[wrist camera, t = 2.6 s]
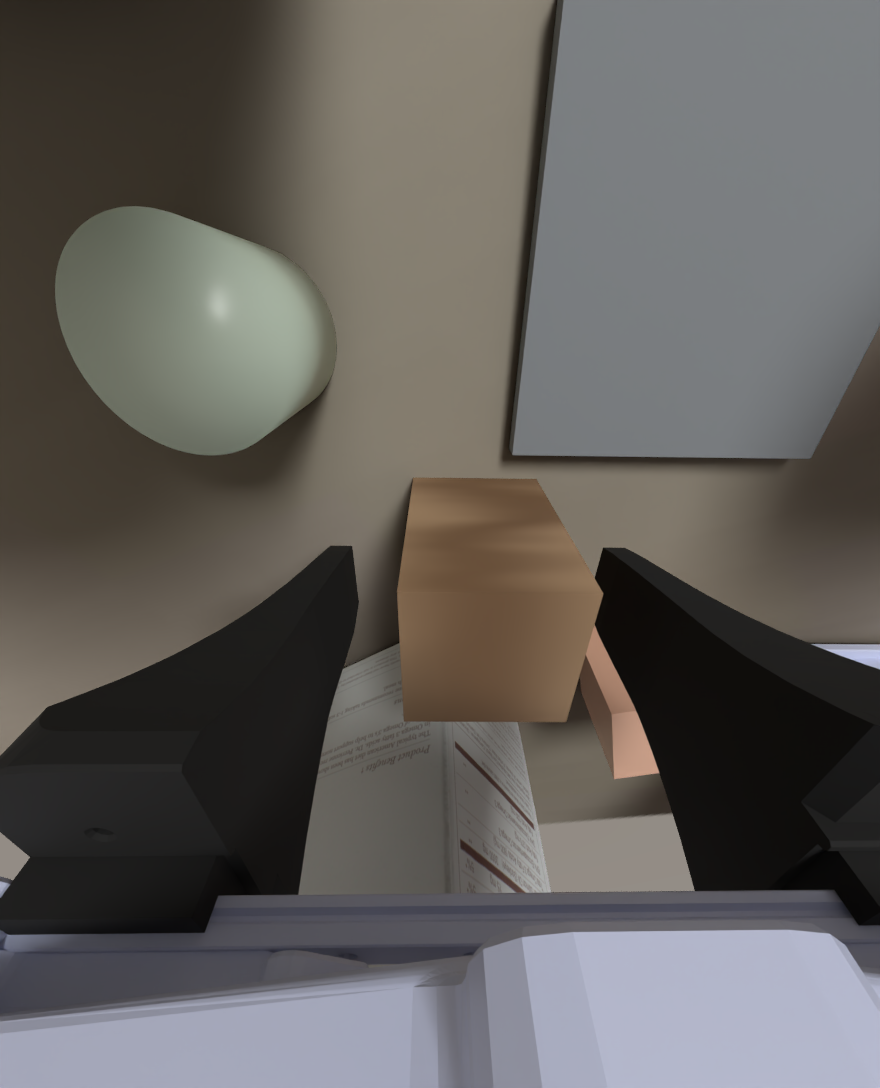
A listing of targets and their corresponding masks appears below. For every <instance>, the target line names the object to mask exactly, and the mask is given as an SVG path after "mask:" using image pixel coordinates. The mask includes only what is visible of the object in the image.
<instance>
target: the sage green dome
mask: <svg viewBox="0 0 880 1088" xmlns="http://www.w3.org/2000/svg"><path fill="white" fill-rule="evenodd" d="M55 301H56V309H57V315H58V319H59V323H60V327H61V331H62V334H63V337H64V339H65V342H66V345H67V347H68V349H69V352H70V354H71V356H72V358H73V360H74V362H75V364H76V365H77V367H78V369H79V370H80V372H81V374H82V375H83V377H84V378H85V380H86V381H87V382H88V384H89V385H90V386H91V388H92V389H93V391H94V392H95V393H96V394H97V395H98V396H99V398H100V399H101V400H102V401H103V402H104V403H105V404H106V405H107V406H108V407H109V408H110V409H111V410H112V411H113V412H114V413H115V414H116V415H117V416H118V417H120V418H121V419H122V420H123V421H125V422H126V423H127V424H128V425H130V426H131V427H132V428H134V429H135V430H137V431H138V432H140V433H141V434H143V435H145V436H147V437H148V438H150V439H152V440H154V441H156V442H158V443H160V444H163V445H165V446H167V447H170V448H173V449H176V450H179V451H182V452H186V453H192V454H197V455H224V454H229V453H234V452H237V451H240V450H243V449H246V448H248V447H249V446H251V445H253V444H255V443H256V442H258V441H259V440H260V439H262V438H263V437H265V436H266V435H267V434H269V433H270V432H271V431H273V430H274V429H275V428H277V427H278V426H279V425H281V424H282V423H283V422H285V421H286V420H288V419H289V418H290V417H292V416H293V415H294V414H296V413H297V412H298V411H300V410H301V409H302V408H304V407H305V406H306V405H308V404H309V403H311V402H312V401H313V400H314V399H316V398H317V397H318V396H319V395H320V394H321V393H322V391H323V390H324V389H325V387H326V386H327V384H328V382H329V380H330V378H331V376H332V373H333V370H334V366H335V361H336V353H337V341H336V332H335V326H334V323H333V319H332V316H331V313H330V310H329V308H328V306H327V303H326V301H325V300H324V298H323V296H322V294H321V292H320V291H319V289H318V288H317V286H316V285H315V283H314V282H313V281H312V280H311V279H310V277H309V276H308V275H307V274H306V273H305V272H304V271H303V270H302V269H301V268H300V267H299V266H298V265H297V264H295V263H294V262H293V261H291V260H290V259H289V258H287V257H285V256H284V255H282V254H280V253H279V252H277V251H274V250H272V249H269V248H267V247H264V246H262V245H259V244H256V243H253V242H251V241H248V240H245V239H242V238H240V237H237V236H234V235H232V234H229V233H226V232H223V231H221V230H218V229H215V228H212V227H210V226H207V225H204V224H201V223H199V222H196V221H193V220H190V219H188V218H185V217H182V216H179V215H177V214H174V213H171V212H167V211H163V210H160V209H156V208H150V207H140V206H130V207H118V208H114V209H110V210H106V211H103V212H101V213H99V214H97V215H95V216H93V217H91V218H90V219H88V220H87V221H86V222H84V223H83V224H82V225H81V226H79V227H78V229H77V230H76V231H75V232H74V233H73V234H72V236H71V237H70V238H69V240H68V242H67V243H66V245H65V247H64V249H63V251H62V254H61V257H60V260H59V263H58V266H57V272H56V279H55Z"/></svg>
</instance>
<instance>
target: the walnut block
mask: <svg viewBox="0 0 880 1088" xmlns="http://www.w3.org/2000/svg"><path fill="white" fill-rule="evenodd" d="M602 597H603V592H602V590H601V589H600V587H599V585H598V584H597V582H596V580H595V578H594V577H593V575H592V573H591V572H590V570H589V568H588V566H587V565H586V563H585V561H584V560H583V558H582V556H581V555H580V553H579V551H578V549H577V548H576V546H575V544H574V543H573V541H572V539H571V538H570V536H569V534H568V532H567V531H566V529H565V527H564V526H563V524H562V522H561V520H560V519H559V517H558V515H557V514H556V512H555V510H554V509H553V507H552V505H551V503H550V502H549V500H548V498H547V497H546V495H545V493H544V492H543V490H542V488H541V486H540V485H539V483H538V481H537V480H536V479H483V478H413V483H412V490H411V497H410V504H409V511H408V518H407V525H406V532H405V539H404V546H403V553H402V560H401V568H400V575H399V582H398V589H397V601H398V620H399V640H400V659H401V678H402V697H403V716H404V722H566V721H567V717H568V714H569V710H570V707H571V704H572V700H573V697H574V693H575V690H576V686H577V683H578V679H579V676H580V673H581V669H582V666H583V662H584V659H585V655H586V652H587V649H588V645H589V642H590V638H591V635H592V631H593V628H594V624H595V621H596V618H597V614H598V611H599V607H600V604H601V600H602Z"/></svg>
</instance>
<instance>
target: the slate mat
mask: <svg viewBox="0 0 880 1088" xmlns="http://www.w3.org/2000/svg"><path fill="white" fill-rule="evenodd" d="M879 326H880V0H557V9H556V19H555V28H554V37H553V46H552V56H551V65H550V74H549V84H548V93H547V102H546V111H545V121H544V130H543V139H542V148H541V158H540V167H539V176H538V186H537V195H536V204H535V213H534V223H533V232H532V241H531V250H530V260H529V269H528V278H527V288H526V297H525V306H524V315H523V325H522V334H521V343H520V352H519V362H518V371H517V380H516V390H515V399H514V408H513V417H512V427H511V436H510V445H509V450H510V452H511V454H512V455H539V456H620V457H702V458H783V459H811V457H812V455H813V453H814V451H815V449H816V447H817V445H818V444H819V442H820V440H821V438H822V436H823V434H824V432H825V430H826V428H827V426H828V424H829V422H830V420H831V419H832V417H833V415H834V413H835V411H836V409H837V407H838V405H839V403H840V401H841V399H842V397H843V395H844V393H845V392H846V390H847V388H848V386H849V384H850V382H851V380H852V378H853V376H854V374H855V372H856V370H857V368H858V367H859V365H860V363H861V361H862V359H863V357H864V355H865V353H866V351H867V349H868V347H869V345H870V343H871V341H872V340H873V338H874V336H875V334H876V332H877V330H878V328H879Z"/></svg>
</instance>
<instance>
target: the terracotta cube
mask: <svg viewBox="0 0 880 1088" xmlns="http://www.w3.org/2000/svg"><path fill="white" fill-rule="evenodd" d="M580 685H581V693H582V695H583V698H584V701H585V703H586V706H587V709H588V711H589V714H590V717H591V719H592V722H593V725H594V727H595V730H596V732H597V735H598V738H599V740H600V743H601V746H602V748H603V751H604V754H605V756H606V759H607V761H608V764H609V767H610V769H611V772H612V775H613V777H614V779H619V778H626V777H633V776H640V775H648V774H655V773H659V770H658V768H657V765H656V762H655V759H654V756H653V753H652V750H651V748H650V745H649V742H648V740H647V737H646V734H645V732H644V729H643V727H642V724H641V721H640V719H639V716H638V714H637V712H636V710H635V707H634V705H633V703H632V701H631V699H630V697H629V695H628V693H627V691H626V689H625V687H624V685H623V683H622V681H621V679H620V677H619V675H618V673H617V671H616V669H615V667H614V665H613V663H612V661H611V659H610V657H609V655H608V653H607V651H606V649H605V647H604V645H603V643H602V641H601V639H600V637H599V635H598V632H597V629H596V627H594V628H593V631H592V635H591V638H590V642H589V645H588V649H587V652H586V655H585V659H584V662H583V666H582V669H581V673H580Z"/></svg>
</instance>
